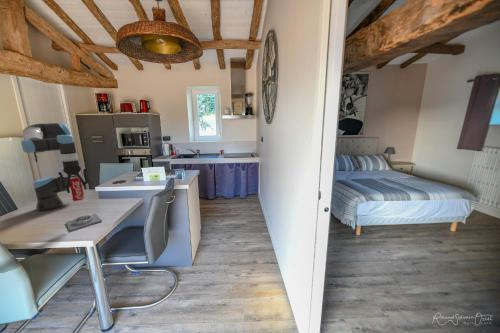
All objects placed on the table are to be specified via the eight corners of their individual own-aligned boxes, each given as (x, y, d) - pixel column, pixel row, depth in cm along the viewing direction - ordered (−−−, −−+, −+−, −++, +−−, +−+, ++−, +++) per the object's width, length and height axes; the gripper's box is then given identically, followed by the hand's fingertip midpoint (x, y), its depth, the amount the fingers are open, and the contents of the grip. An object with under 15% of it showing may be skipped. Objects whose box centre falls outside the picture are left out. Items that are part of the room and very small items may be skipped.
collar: (72, 221, 133) (71, 219, 133) (91, 216, 141) (91, 213, 140) (75, 226, 126) (74, 224, 126) (95, 220, 134) (95, 218, 133)
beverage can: (75, 202, 126) (70, 179, 123) (71, 200, 129) (66, 178, 126) (86, 199, 131) (82, 177, 127) (82, 197, 134) (77, 175, 131)
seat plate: (66, 223, 133) (65, 222, 133) (95, 214, 145) (95, 213, 144) (70, 231, 123) (70, 230, 122) (101, 221, 134) (101, 220, 134)
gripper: (49, 163, 115) (59, 201, 120) (90, 158, 129) (97, 193, 134) (48, 162, 120) (57, 198, 125) (87, 157, 134) (94, 190, 139)
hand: (78, 195), depth 129 cm, fingers closed on beverage can, 6 cm apart
